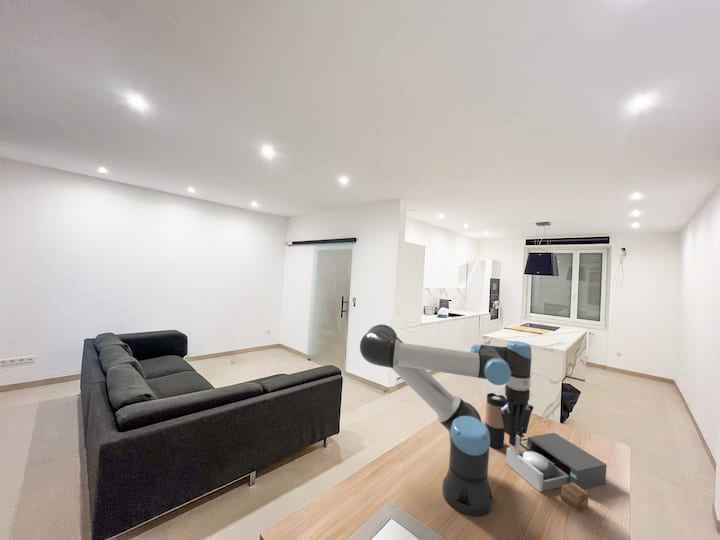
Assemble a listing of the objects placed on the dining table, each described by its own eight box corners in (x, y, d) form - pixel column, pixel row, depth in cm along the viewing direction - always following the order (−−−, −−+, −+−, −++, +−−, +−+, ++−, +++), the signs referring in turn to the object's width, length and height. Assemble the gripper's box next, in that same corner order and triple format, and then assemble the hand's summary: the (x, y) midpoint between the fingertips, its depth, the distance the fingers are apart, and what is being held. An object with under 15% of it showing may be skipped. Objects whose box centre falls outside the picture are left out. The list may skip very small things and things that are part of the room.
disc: (553, 468, 106) (553, 463, 106) (535, 471, 104) (536, 467, 104) (534, 454, 114) (534, 449, 114) (517, 457, 111) (517, 453, 111)
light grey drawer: (539, 491, 100) (540, 474, 100) (505, 462, 114) (506, 447, 114) (569, 484, 104) (570, 468, 104) (533, 457, 118) (534, 443, 118)
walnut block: (575, 511, 92) (576, 496, 92) (560, 499, 97) (561, 484, 97) (587, 508, 94) (588, 493, 94) (572, 496, 99) (573, 482, 99)
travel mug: (492, 450, 122) (495, 401, 121) (480, 439, 129) (482, 393, 129) (508, 448, 124) (511, 400, 123) (495, 437, 131) (497, 392, 131)
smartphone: (546, 466, 114) (547, 463, 114) (515, 443, 128) (516, 440, 128) (563, 463, 116) (563, 460, 116) (530, 440, 131) (531, 437, 131)
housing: (573, 491, 101) (575, 471, 101) (525, 454, 120) (526, 437, 120) (605, 483, 105) (606, 464, 105) (553, 449, 124) (554, 432, 124)
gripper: (510, 393, 99) (507, 463, 100) (541, 389, 103) (538, 457, 104) (494, 384, 107) (491, 449, 107) (523, 381, 110) (520, 444, 111)
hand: (514, 453), depth 105 cm, fingers closed
